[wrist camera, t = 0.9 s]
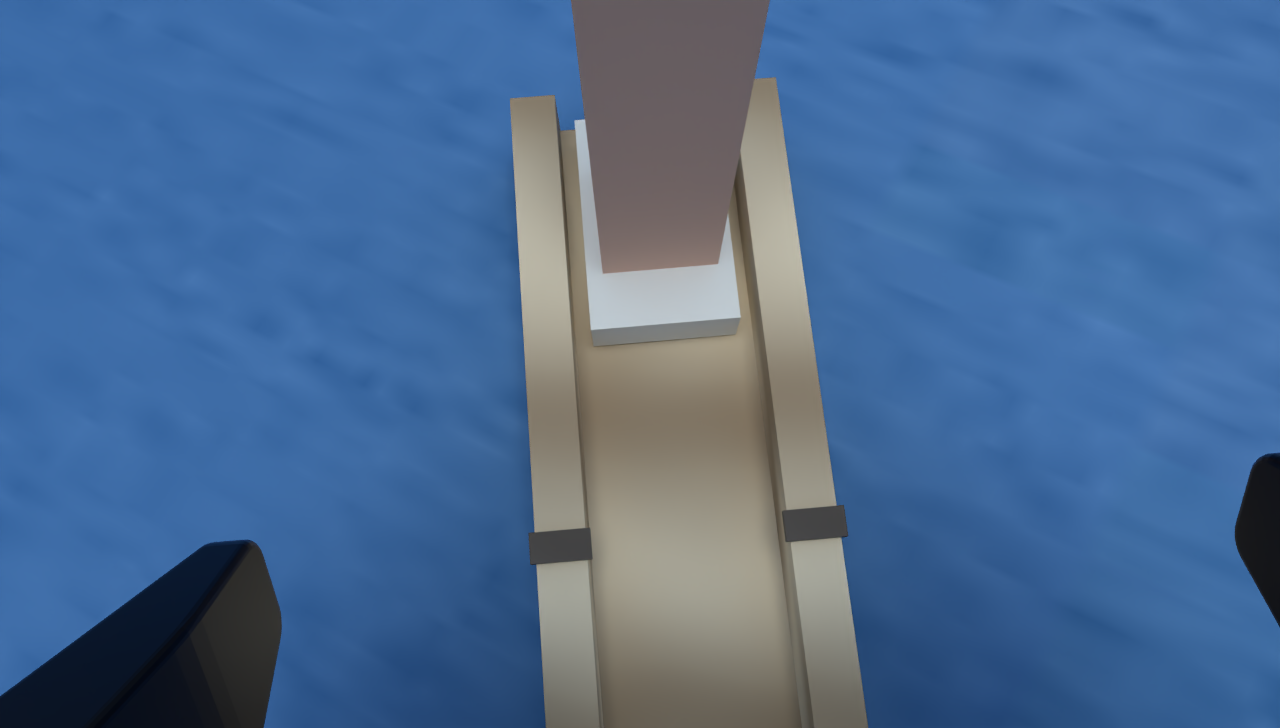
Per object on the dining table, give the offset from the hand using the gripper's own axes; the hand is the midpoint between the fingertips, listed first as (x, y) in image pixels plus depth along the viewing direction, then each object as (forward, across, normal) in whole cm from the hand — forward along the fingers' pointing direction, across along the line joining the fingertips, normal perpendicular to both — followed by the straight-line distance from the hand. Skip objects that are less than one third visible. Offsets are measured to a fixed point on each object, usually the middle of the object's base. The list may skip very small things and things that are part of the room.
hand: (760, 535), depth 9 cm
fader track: (+12, 0, +7) cm, 14 cm away
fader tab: (+14, 0, +2) cm, 14 cm away
